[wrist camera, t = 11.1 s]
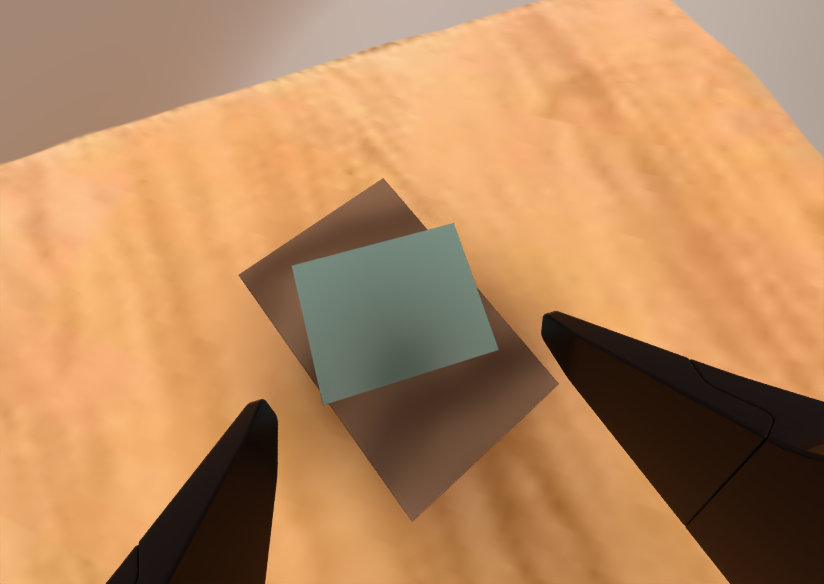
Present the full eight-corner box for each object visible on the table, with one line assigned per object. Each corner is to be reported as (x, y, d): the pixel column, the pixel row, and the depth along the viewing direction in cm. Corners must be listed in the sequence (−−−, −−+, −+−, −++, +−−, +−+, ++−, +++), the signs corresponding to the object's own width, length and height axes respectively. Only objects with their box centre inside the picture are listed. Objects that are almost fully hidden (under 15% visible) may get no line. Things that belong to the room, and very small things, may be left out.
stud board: (548, 382, 21) (594, 390, 16) (411, 509, 19) (415, 563, 14) (384, 188, 24) (380, 144, 19) (248, 280, 22) (204, 257, 17)
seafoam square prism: (455, 352, 20) (498, 349, 11) (357, 383, 19) (322, 405, 11) (431, 278, 21) (453, 223, 12) (337, 304, 21) (291, 265, 12)
